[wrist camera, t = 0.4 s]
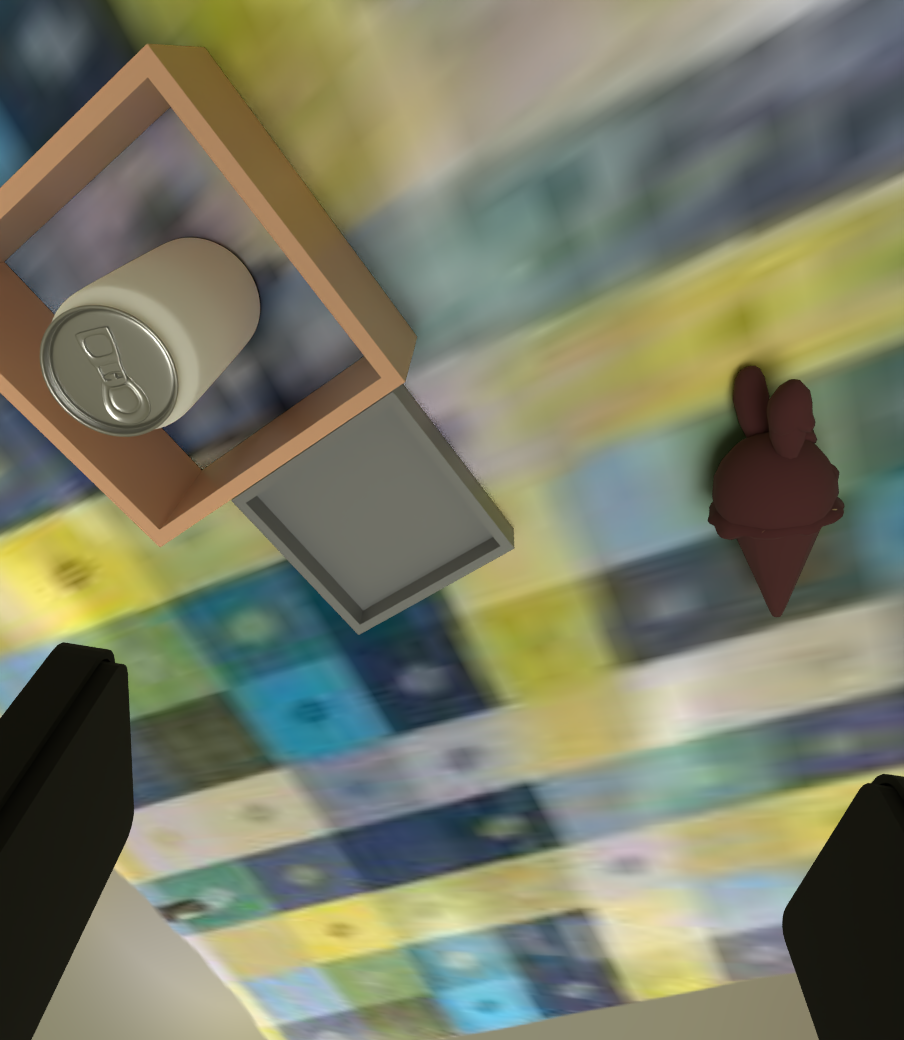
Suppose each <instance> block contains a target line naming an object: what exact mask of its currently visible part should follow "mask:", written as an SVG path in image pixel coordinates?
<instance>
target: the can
mask: <svg viewBox="0 0 904 1040" xmlns="http://www.w3.org/2000/svg"><path fill="white" fill-rule="evenodd" d="M259 316H260V300H259V294H258V291H257V287H256V285H255V282H254V280H253V278H252V276H251V274H250V273H249V271H248V270H247V268H246V267H245V266H244V264H243V263H242V262H241V261H240V260H239V259H238V258H237V257H236V256H235V255H234V254H233V253H231V252H230V251H229V250H227V249H226V248H224V247H222V246H221V245H219V244H216V243H214V242H212V241H209V240H205V239H200V238H180V239H176V240H172V241H169V242H167V243H165V244H163V245H161V246H159V247H157V248H155V249H153V250H151V251H149V252H147V253H146V254H144V255H142V256H140V257H138V258H136V259H134V260H133V261H131V262H129V263H127V264H125V265H123V266H122V267H120V268H118V269H116V270H114V271H113V272H111V273H109V274H107V275H105V276H104V277H102V278H100V279H98V280H96V281H95V282H93V283H91V284H89V285H88V286H86V287H84V288H82V289H81V290H79V291H78V292H76V293H75V294H73V295H72V296H70V297H69V298H68V299H67V300H66V301H65V302H64V303H63V304H62V305H61V306H60V307H59V309H58V310H57V312H56V313H55V315H54V317H53V320H52V322H51V324H50V325H49V326H48V328H47V329H46V331H45V333H44V335H43V338H42V341H41V346H40V366H41V371H42V374H43V377H44V380H45V383H46V385H47V387H48V389H49V391H50V392H51V394H52V396H53V397H54V398H55V400H56V401H57V402H58V404H59V405H60V406H61V407H62V408H63V409H64V410H65V411H66V412H67V413H68V414H69V415H70V416H71V417H73V418H74V419H75V420H77V421H78V422H80V423H81V424H83V425H85V426H86V427H88V428H90V429H92V430H95V431H97V432H100V433H103V434H107V435H111V436H118V437H132V436H139V435H143V434H146V433H148V432H151V431H153V430H154V429H159V428H162V427H165V426H167V425H169V424H171V423H173V422H175V421H176V420H178V419H179V418H180V417H182V416H183V415H184V414H185V413H186V412H187V411H188V410H189V409H190V408H191V407H192V406H193V405H194V404H195V403H196V402H197V400H198V399H199V398H200V397H201V396H202V395H203V394H204V393H205V391H206V390H207V389H208V388H209V387H210V386H211V385H212V384H213V382H214V381H215V380H216V379H217V378H218V377H219V376H220V374H221V373H222V372H223V371H224V370H225V369H226V368H227V366H228V365H229V364H230V363H231V362H232V361H233V359H234V358H235V357H236V356H237V355H238V354H239V352H240V351H241V350H242V349H243V348H244V346H245V345H246V344H247V343H248V341H249V340H250V339H251V337H252V336H253V334H254V332H255V330H256V328H257V325H258V321H259Z"/></svg>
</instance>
